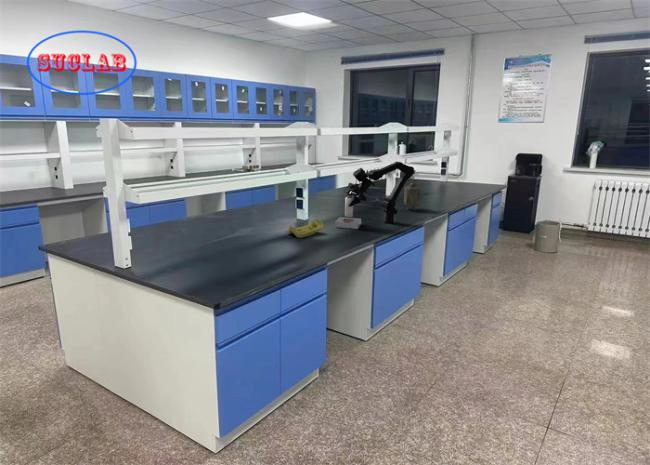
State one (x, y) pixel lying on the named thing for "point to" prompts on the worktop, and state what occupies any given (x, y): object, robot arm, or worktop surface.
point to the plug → (348, 209)
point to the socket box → (348, 223)
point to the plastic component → (306, 229)
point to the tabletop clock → (412, 195)
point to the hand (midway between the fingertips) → (347, 205)
